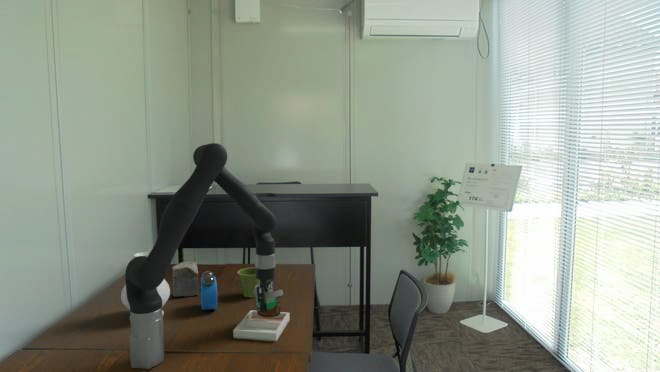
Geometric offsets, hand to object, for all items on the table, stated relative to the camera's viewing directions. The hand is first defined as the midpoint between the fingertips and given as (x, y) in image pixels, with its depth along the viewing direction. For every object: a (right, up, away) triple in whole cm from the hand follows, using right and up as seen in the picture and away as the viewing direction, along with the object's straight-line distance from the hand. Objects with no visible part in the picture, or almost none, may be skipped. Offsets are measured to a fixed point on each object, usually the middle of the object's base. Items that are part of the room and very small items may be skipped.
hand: (266, 308), depth 165 cm
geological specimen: (-41, -3, +31) cm, 51 cm away
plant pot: (-11, -3, +31) cm, 33 cm away
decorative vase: (-48, -5, +8) cm, 49 cm away
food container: (0, -2, 0) cm, 3 cm away
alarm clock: (-26, -5, +15) cm, 30 cm away
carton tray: (-1, -6, -4) cm, 7 cm away
